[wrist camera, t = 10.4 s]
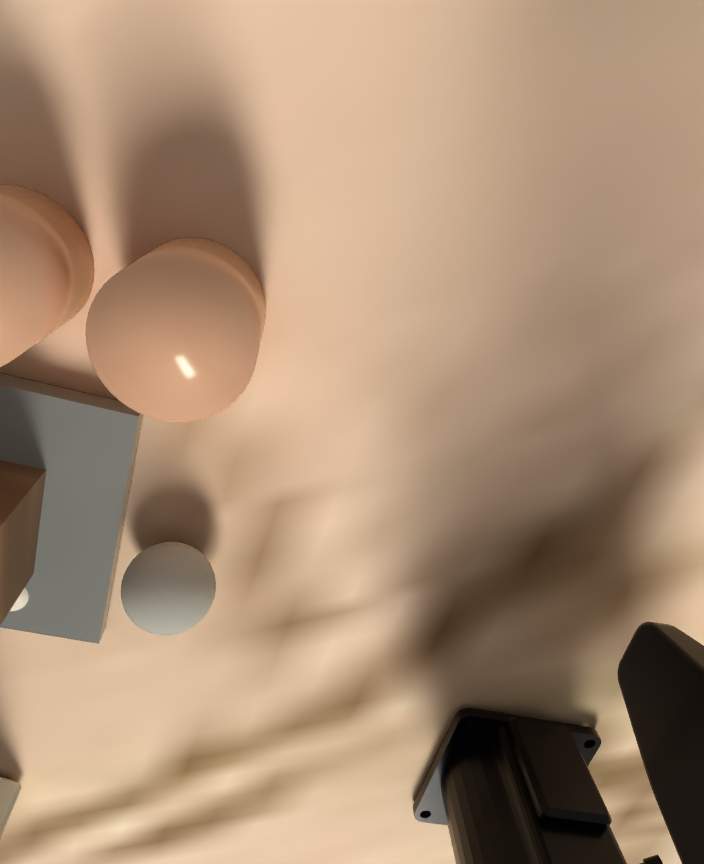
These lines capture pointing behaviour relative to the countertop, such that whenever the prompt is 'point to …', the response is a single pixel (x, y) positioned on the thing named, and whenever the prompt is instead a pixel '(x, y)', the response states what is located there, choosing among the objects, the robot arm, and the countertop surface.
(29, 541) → the walnut block
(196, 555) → the grey ball
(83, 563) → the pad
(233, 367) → the peach rounded capsule
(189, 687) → the countertop surface
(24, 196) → the peach capsule shape
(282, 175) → the countertop surface
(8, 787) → the skincare box
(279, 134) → the countertop surface
